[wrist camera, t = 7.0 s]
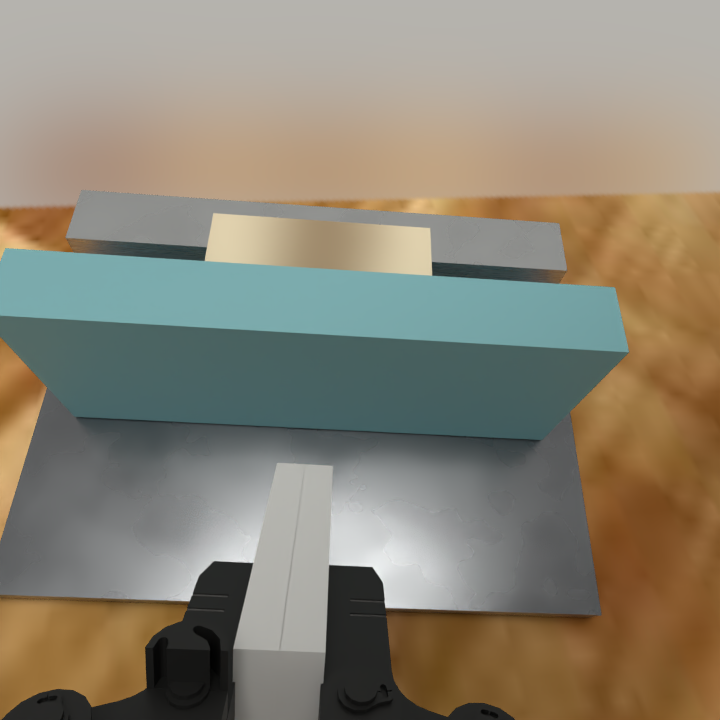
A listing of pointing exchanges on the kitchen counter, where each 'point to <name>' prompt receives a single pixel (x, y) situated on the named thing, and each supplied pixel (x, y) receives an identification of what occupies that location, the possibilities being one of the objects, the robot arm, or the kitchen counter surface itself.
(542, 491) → the vise base
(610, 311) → the slide jaw
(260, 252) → the block
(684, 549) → the kitchen counter surface
